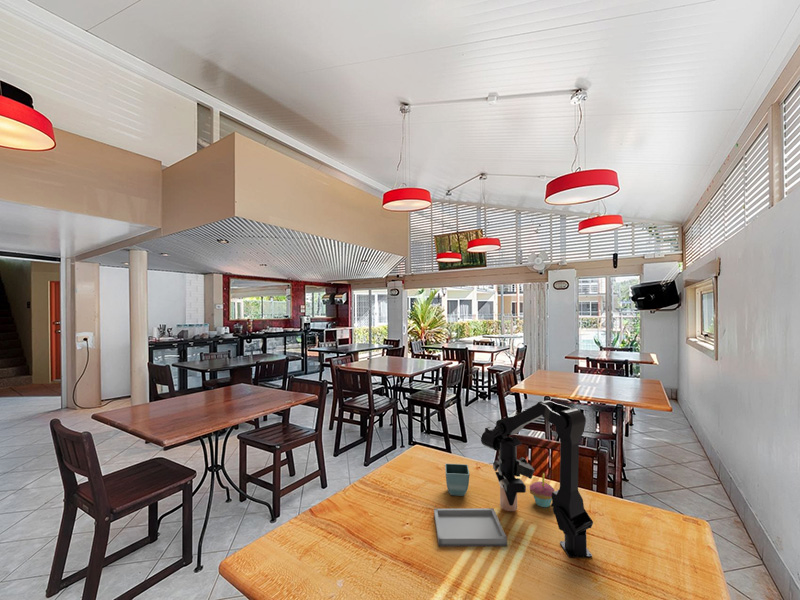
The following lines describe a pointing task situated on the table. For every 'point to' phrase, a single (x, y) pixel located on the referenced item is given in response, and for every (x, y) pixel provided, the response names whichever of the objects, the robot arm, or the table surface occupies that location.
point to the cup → (504, 500)
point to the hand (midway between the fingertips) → (508, 500)
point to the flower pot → (457, 478)
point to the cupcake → (542, 493)
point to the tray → (469, 527)
